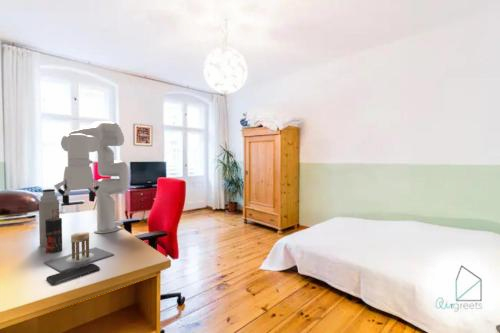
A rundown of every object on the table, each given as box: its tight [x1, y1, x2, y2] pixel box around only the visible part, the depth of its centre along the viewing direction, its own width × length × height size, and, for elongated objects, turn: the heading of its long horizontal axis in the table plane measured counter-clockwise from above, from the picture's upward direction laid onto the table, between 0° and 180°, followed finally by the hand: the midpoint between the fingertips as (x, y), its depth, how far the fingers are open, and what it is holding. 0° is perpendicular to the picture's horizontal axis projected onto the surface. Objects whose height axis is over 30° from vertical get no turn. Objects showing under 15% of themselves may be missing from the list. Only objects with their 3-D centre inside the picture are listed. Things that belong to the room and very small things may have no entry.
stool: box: [70, 231, 90, 260], centre depth 105 cm, size 6×6×10 cm
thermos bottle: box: [38, 188, 60, 248], centre depth 124 cm, size 8×8×28 cm
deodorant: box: [45, 217, 63, 255], centre depth 114 cm, size 6×6×15 cm
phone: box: [46, 263, 101, 286], centre depth 90 cm, size 8×1×15 cm
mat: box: [43, 247, 115, 273], centre depth 105 cm, size 20×16×1 cm
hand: (79, 202), depth 105 cm, fingers open, 9 cm apart
